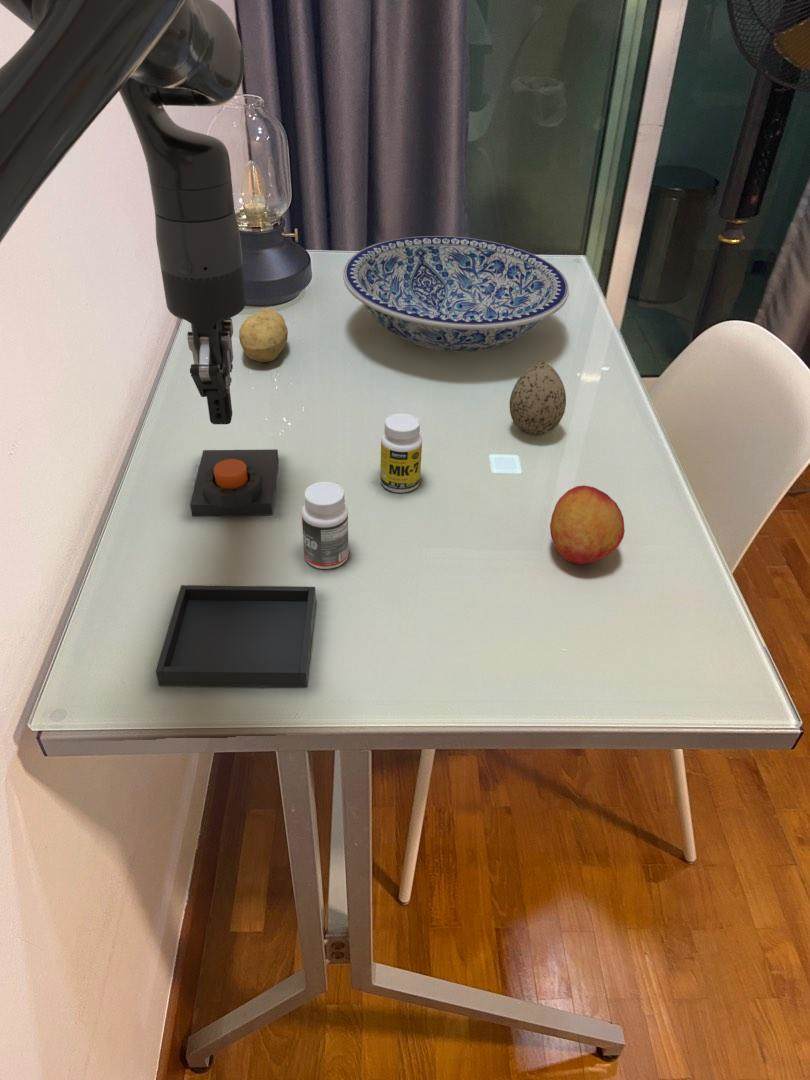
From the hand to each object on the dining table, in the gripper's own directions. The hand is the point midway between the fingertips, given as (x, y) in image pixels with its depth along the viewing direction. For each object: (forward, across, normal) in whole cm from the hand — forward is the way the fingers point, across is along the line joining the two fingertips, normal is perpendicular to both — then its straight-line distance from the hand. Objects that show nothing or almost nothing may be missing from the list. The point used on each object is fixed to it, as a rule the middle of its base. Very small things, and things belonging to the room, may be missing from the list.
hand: (221, 420), depth 87 cm
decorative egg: (+11, +14, -38) cm, 42 cm away
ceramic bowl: (+11, +44, -30) cm, 54 cm away
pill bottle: (+11, -10, -11) cm, 18 cm away
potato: (+11, +37, -1) cm, 39 cm away
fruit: (+11, -10, -38) cm, 41 cm away
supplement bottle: (+11, +4, -20) cm, 23 cm away
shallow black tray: (+11, -22, -3) cm, 25 cm away
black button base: (+11, +3, 0) cm, 11 cm away
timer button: (+8, 0, 0) cm, 8 cm away
